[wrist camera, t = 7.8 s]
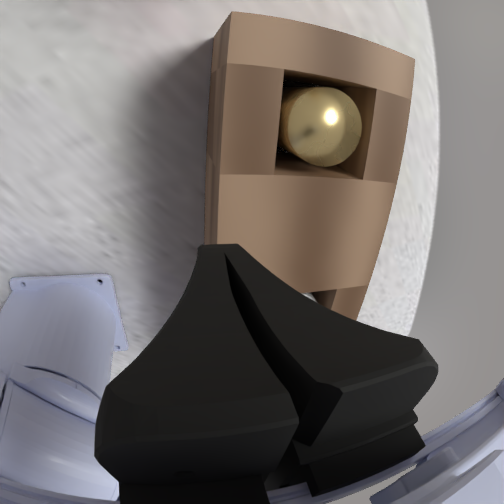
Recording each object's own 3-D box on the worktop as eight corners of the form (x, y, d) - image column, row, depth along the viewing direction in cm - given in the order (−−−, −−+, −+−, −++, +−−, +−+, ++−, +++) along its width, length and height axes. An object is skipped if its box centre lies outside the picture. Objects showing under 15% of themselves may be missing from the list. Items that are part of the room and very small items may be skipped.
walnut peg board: (205, 325, 25) (216, 381, 20) (214, 36, 14) (231, 11, 9) (312, 313, 27) (340, 360, 22) (357, 60, 17) (415, 59, 12)
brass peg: (254, 144, 18) (284, 164, 14) (259, 84, 16) (292, 80, 12) (311, 148, 19) (355, 169, 15) (318, 91, 17) (366, 95, 13)
